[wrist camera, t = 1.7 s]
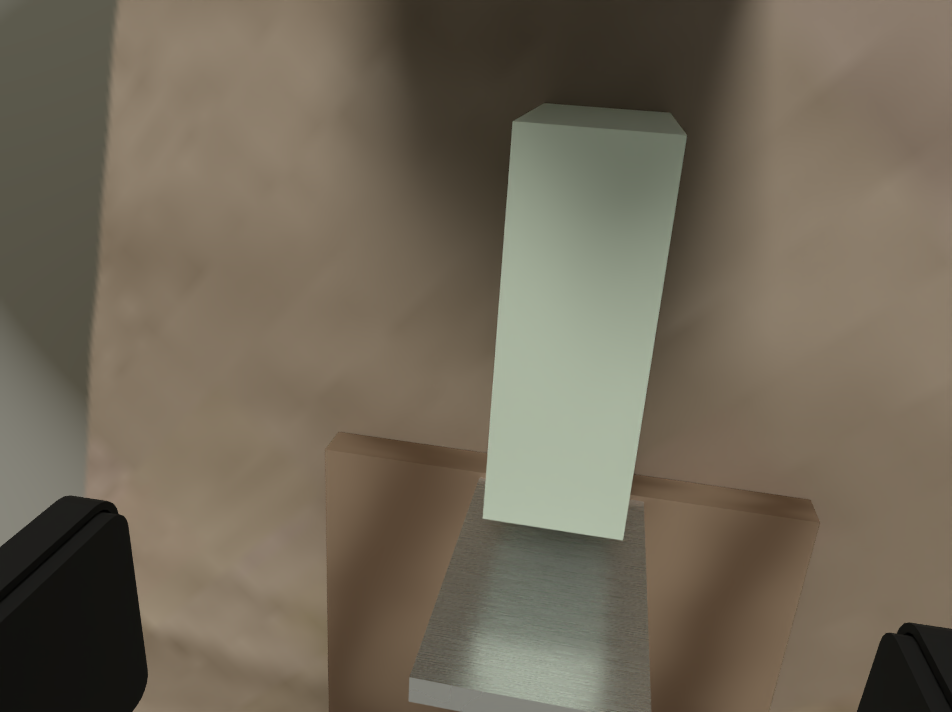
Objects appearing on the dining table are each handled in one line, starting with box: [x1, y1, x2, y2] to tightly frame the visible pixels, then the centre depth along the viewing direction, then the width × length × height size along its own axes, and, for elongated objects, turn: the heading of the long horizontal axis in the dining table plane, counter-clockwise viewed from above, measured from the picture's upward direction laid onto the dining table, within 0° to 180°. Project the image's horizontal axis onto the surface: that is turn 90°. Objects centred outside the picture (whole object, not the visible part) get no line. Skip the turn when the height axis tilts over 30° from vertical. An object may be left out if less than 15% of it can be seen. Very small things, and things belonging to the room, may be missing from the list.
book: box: [483, 103, 687, 540], centre depth 23 cm, size 4×11×8 cm, turn 177°
